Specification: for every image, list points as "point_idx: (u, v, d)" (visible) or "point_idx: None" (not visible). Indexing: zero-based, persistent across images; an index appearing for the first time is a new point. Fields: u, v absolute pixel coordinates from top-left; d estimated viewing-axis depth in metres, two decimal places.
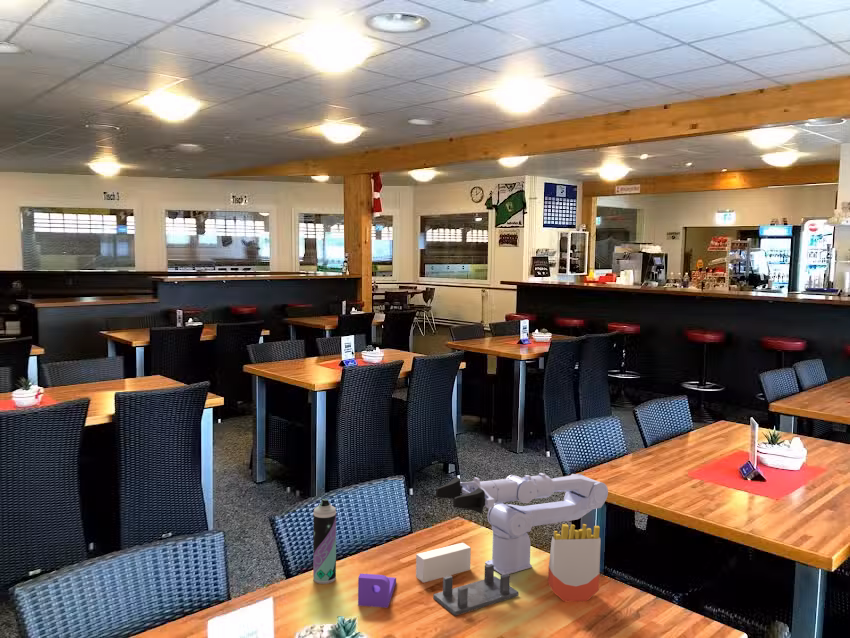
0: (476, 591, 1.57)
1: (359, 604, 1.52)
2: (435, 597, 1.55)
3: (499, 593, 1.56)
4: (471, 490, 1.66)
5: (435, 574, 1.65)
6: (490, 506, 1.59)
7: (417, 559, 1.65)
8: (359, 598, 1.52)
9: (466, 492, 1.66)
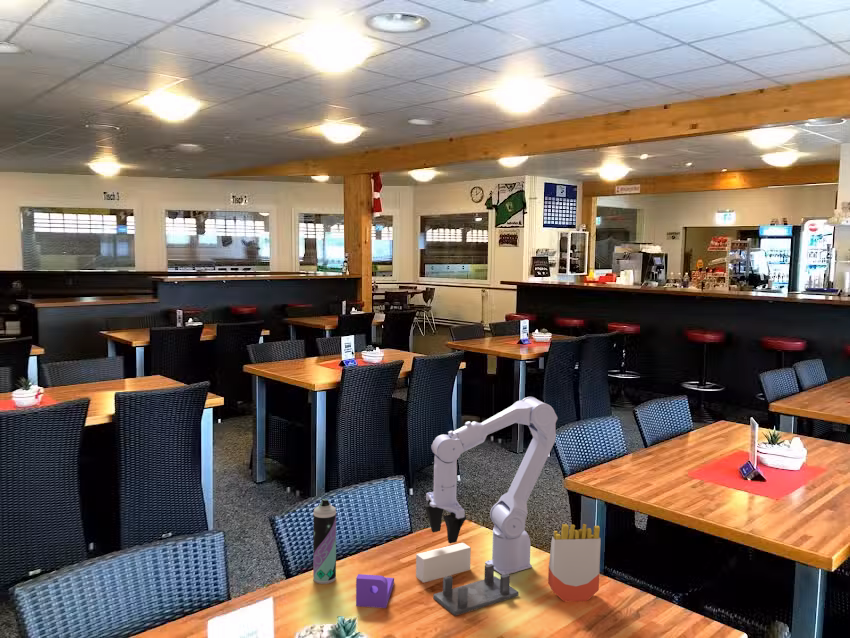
0: (476, 591, 1.57)
1: (357, 605, 1.51)
2: (435, 597, 1.55)
3: (499, 593, 1.56)
4: None
5: (435, 574, 1.65)
6: (463, 514, 1.61)
7: (417, 559, 1.65)
8: (357, 599, 1.51)
9: None
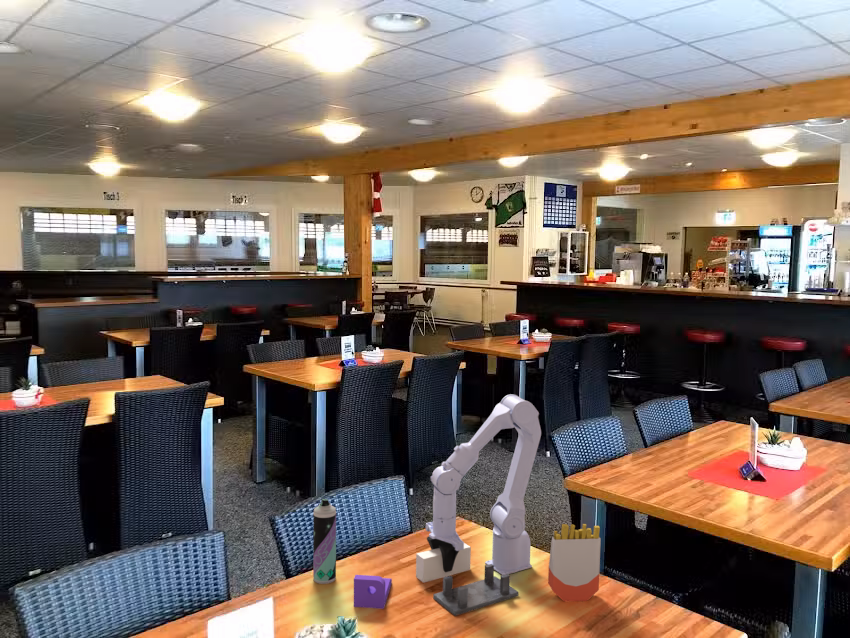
0: (476, 591, 1.57)
1: (355, 605, 1.51)
2: (435, 597, 1.55)
3: (499, 593, 1.56)
4: None
5: (435, 573, 1.65)
6: (462, 546, 1.62)
7: (417, 559, 1.65)
8: (355, 599, 1.51)
9: None
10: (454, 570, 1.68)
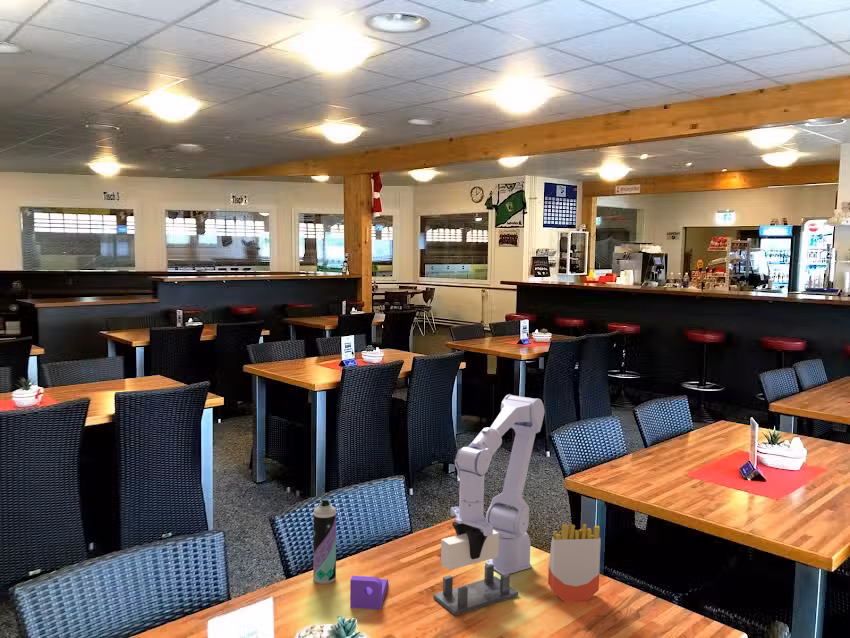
0: (476, 591, 1.57)
1: (351, 606, 1.51)
2: (435, 597, 1.55)
3: (499, 593, 1.56)
4: None
5: (461, 560, 1.54)
6: (491, 531, 1.51)
7: (442, 545, 1.55)
8: (351, 600, 1.51)
9: None
10: (481, 557, 1.57)
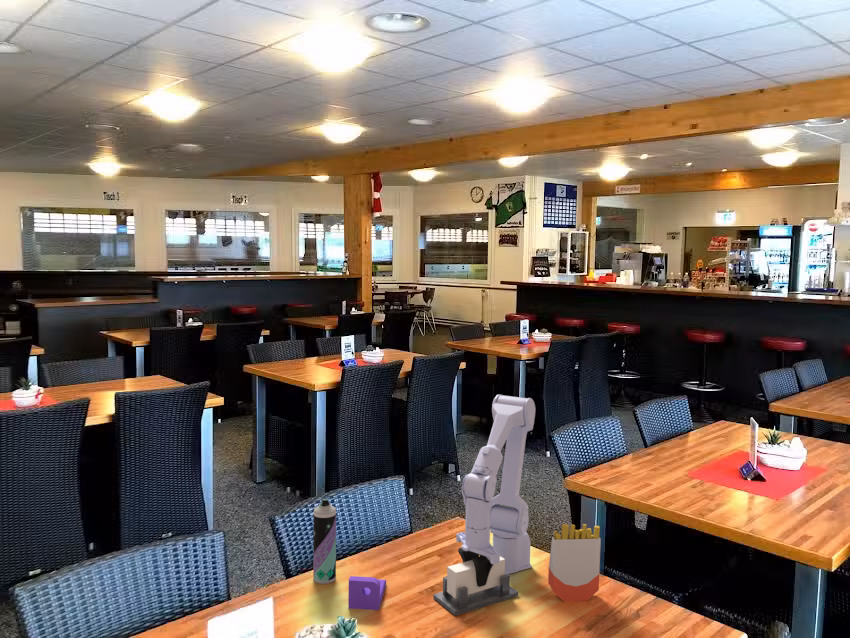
0: None
1: (349, 607, 1.50)
2: (435, 597, 1.55)
3: (499, 593, 1.56)
4: None
5: (468, 588, 1.53)
6: (498, 559, 1.49)
7: (448, 572, 1.53)
8: (349, 601, 1.50)
9: None
10: (488, 584, 1.56)
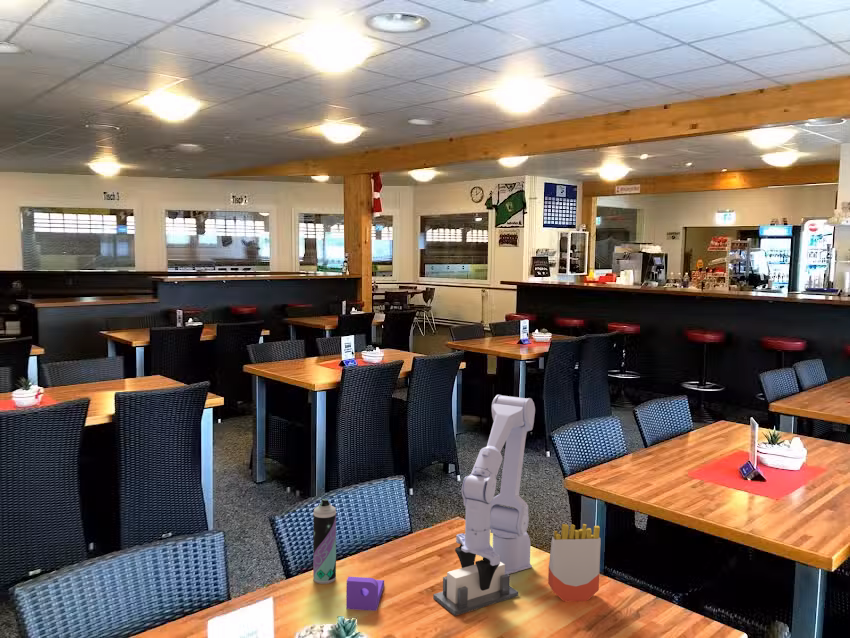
0: None
1: (347, 608, 1.50)
2: (435, 597, 1.55)
3: (499, 593, 1.56)
4: None
5: None
6: (498, 560, 1.50)
7: (448, 578, 1.53)
8: (347, 601, 1.50)
9: None
10: (487, 590, 1.56)
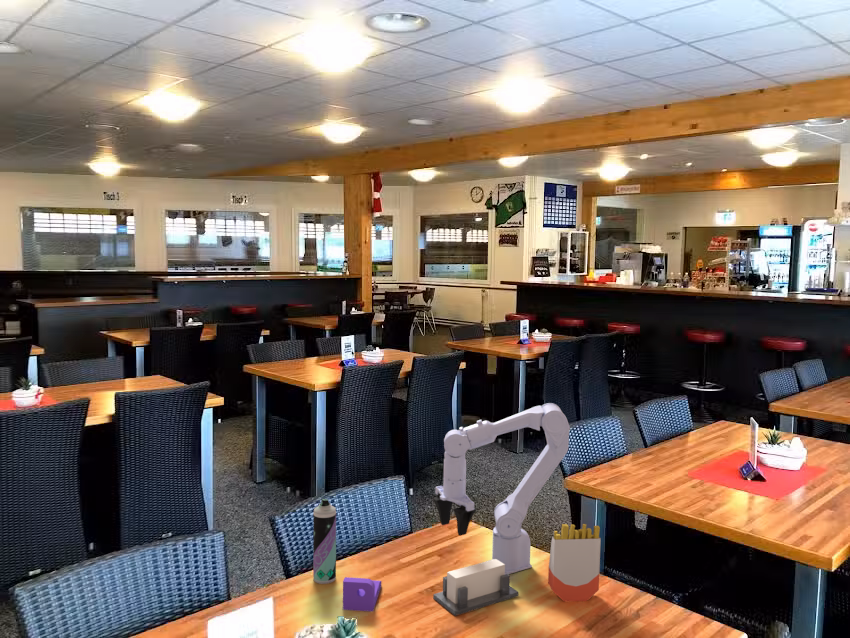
0: None
1: (344, 608, 1.50)
2: (435, 597, 1.55)
3: (499, 593, 1.56)
4: None
5: None
6: (473, 506, 1.66)
7: (448, 578, 1.53)
8: (344, 602, 1.50)
9: None
10: (487, 590, 1.56)
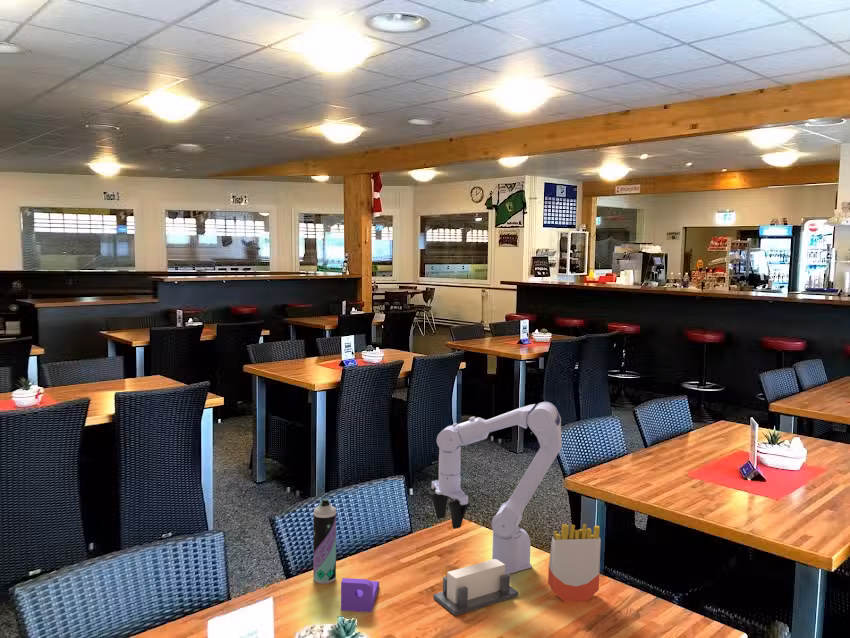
0: None
1: (342, 609, 1.49)
2: (435, 597, 1.55)
3: (499, 593, 1.56)
4: None
5: None
6: (467, 500, 1.70)
7: (448, 578, 1.53)
8: (342, 603, 1.49)
9: None
10: (487, 590, 1.56)
